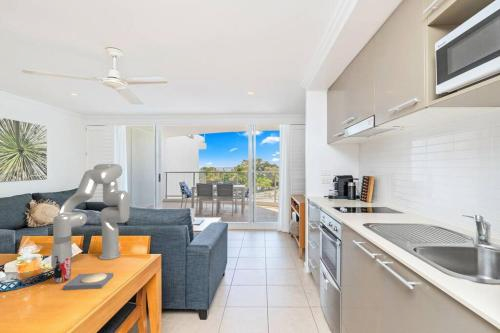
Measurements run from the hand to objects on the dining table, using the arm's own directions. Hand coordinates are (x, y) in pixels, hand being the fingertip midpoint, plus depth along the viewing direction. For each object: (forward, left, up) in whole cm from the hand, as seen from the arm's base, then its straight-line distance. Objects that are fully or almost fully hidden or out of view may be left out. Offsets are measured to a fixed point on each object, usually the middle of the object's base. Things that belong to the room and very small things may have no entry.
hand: (62, 274), depth 137 cm
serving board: (+4, +15, -3) cm, 16 cm away
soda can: (0, 0, -3) cm, 3 cm away
